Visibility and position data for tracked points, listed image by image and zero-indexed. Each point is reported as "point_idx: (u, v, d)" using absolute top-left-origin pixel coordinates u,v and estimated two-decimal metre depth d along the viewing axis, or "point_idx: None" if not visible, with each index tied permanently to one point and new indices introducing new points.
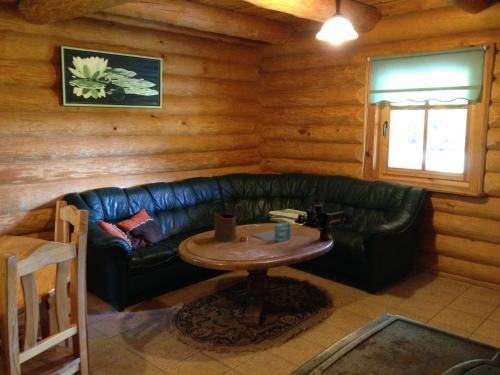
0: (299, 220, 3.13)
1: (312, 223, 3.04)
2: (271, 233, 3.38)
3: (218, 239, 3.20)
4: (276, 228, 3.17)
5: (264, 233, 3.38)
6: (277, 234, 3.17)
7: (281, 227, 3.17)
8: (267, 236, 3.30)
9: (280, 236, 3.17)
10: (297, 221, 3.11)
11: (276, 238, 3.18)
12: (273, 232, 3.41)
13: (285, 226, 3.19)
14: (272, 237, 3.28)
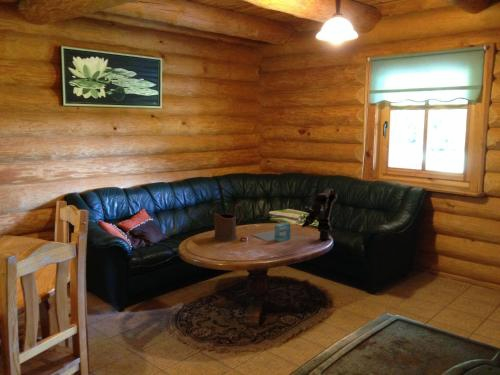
0: None
1: None
2: (271, 233, 3.38)
3: (218, 239, 3.20)
4: (276, 228, 3.17)
5: (264, 233, 3.38)
6: (277, 234, 3.17)
7: (281, 227, 3.17)
8: (267, 236, 3.30)
9: (280, 236, 3.17)
10: None
11: (276, 238, 3.18)
12: (273, 232, 3.41)
13: (285, 226, 3.19)
14: (272, 237, 3.28)
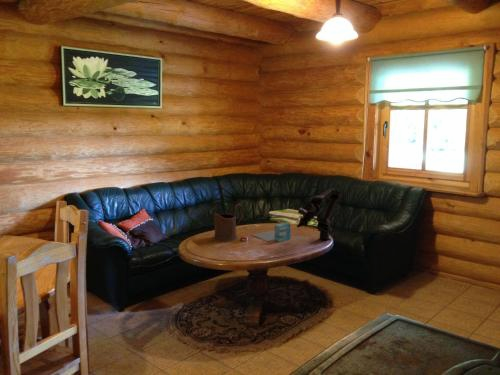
0: None
1: None
2: (271, 233, 3.38)
3: (218, 239, 3.20)
4: (276, 228, 3.17)
5: (264, 233, 3.38)
6: (277, 234, 3.17)
7: (281, 227, 3.17)
8: (267, 236, 3.30)
9: (280, 236, 3.17)
10: None
11: (276, 238, 3.18)
12: (273, 232, 3.41)
13: (285, 226, 3.19)
14: (272, 237, 3.28)
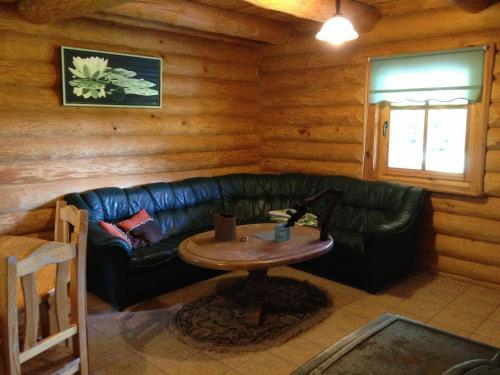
0: None
1: None
2: (271, 233, 3.38)
3: (218, 239, 3.20)
4: (276, 228, 3.17)
5: (264, 233, 3.38)
6: (277, 234, 3.17)
7: (281, 227, 3.17)
8: (267, 236, 3.30)
9: (280, 236, 3.17)
10: None
11: (276, 238, 3.18)
12: (273, 232, 3.41)
13: None
14: (272, 237, 3.28)
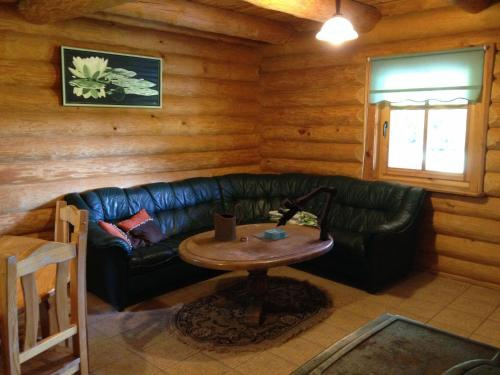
0: None
1: None
2: None
3: (218, 239, 3.20)
4: (265, 234, 3.27)
5: (264, 233, 3.38)
6: (268, 234, 3.24)
7: (267, 230, 3.29)
8: None
9: (272, 232, 3.24)
10: None
11: (272, 236, 3.22)
12: None
13: (271, 229, 3.32)
14: None
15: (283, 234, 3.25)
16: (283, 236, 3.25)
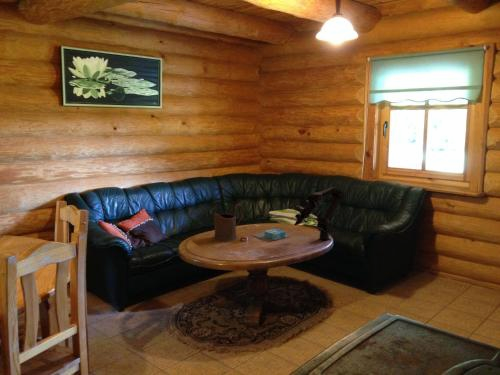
0: None
1: None
2: None
3: (218, 239, 3.20)
4: (265, 234, 3.27)
5: (264, 233, 3.38)
6: (268, 234, 3.24)
7: (267, 230, 3.29)
8: None
9: (272, 232, 3.24)
10: None
11: (272, 236, 3.22)
12: None
13: (271, 229, 3.32)
14: None
15: (283, 234, 3.25)
16: (283, 236, 3.25)
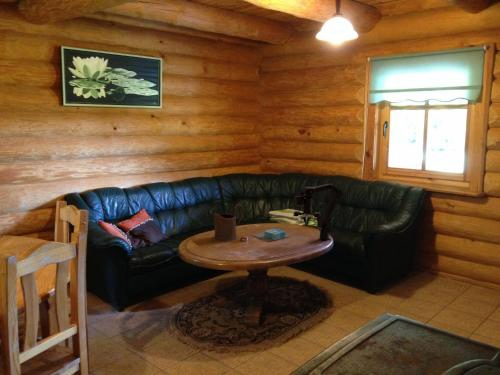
0: None
1: None
2: None
3: (218, 239, 3.20)
4: (265, 234, 3.27)
5: (264, 233, 3.38)
6: (268, 234, 3.24)
7: (267, 230, 3.29)
8: None
9: (272, 232, 3.24)
10: None
11: (272, 236, 3.22)
12: None
13: (271, 229, 3.32)
14: None
15: (283, 234, 3.25)
16: (283, 236, 3.25)
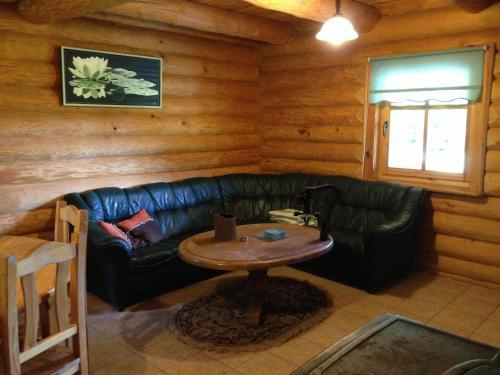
0: None
1: None
2: None
3: (218, 239, 3.20)
4: (265, 234, 3.27)
5: (264, 233, 3.38)
6: (268, 234, 3.24)
7: (267, 230, 3.29)
8: None
9: (272, 232, 3.24)
10: None
11: (272, 236, 3.22)
12: None
13: (271, 229, 3.32)
14: None
15: (283, 234, 3.25)
16: (283, 236, 3.25)
